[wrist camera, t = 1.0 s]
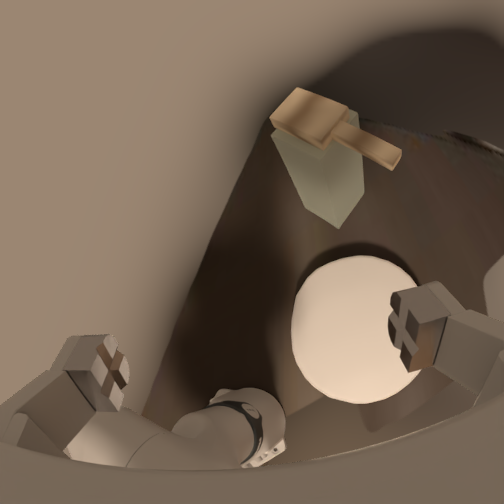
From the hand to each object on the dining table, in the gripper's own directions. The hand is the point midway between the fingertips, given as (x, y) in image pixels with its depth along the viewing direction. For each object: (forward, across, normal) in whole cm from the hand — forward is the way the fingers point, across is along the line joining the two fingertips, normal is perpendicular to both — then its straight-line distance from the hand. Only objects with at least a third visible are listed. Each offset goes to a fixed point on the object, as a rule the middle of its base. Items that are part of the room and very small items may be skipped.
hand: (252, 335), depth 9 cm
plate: (+37, +17, -36) cm, 54 cm away
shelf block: (+57, +18, -16) cm, 62 cm away
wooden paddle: (+37, +14, +1) cm, 39 cm away
